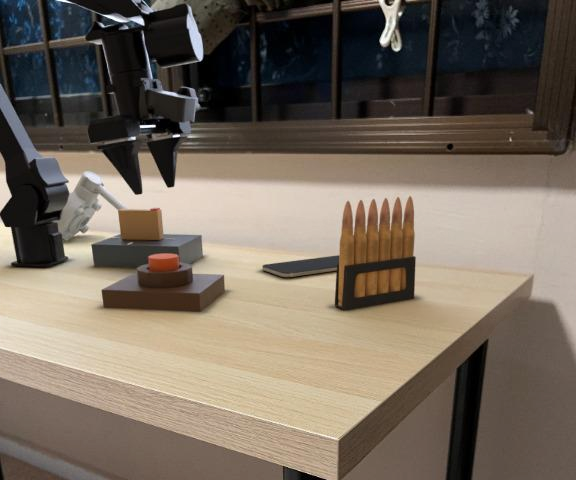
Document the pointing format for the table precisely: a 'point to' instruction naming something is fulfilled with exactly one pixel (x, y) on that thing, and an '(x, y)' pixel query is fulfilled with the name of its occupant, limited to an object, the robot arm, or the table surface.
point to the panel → (145, 250)
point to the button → (163, 262)
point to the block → (141, 224)
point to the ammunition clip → (376, 256)
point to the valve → (84, 205)
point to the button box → (164, 290)
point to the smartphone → (303, 266)
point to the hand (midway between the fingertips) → (155, 190)
